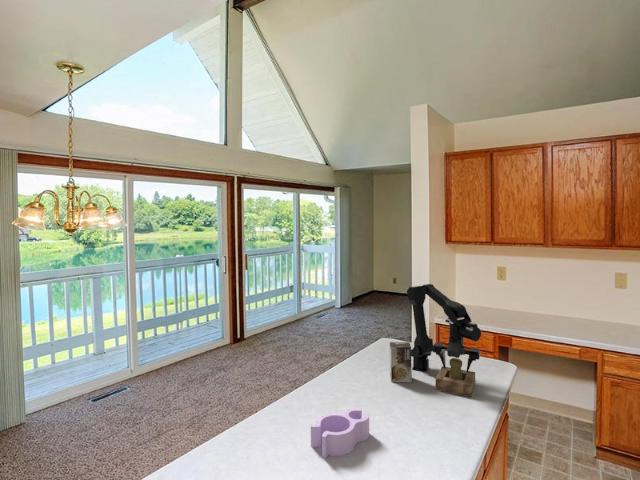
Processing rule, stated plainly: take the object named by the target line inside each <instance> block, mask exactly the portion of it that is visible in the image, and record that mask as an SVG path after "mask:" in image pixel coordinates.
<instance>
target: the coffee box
mask: <svg viewBox="0 0 640 480" xmlns="http://www.w3.org/2000/svg"><path fill="white" fill-rule="evenodd" d="M411 350H412V346H411V343H410V342H409V341H408V342H407V341H405V342H404V341H401V342H398V341H396V342H395V341H394V342H393V341H390V342H389V377H390V382H391V383H412V374H413V373H412V371H413V370H412V356H411Z"/></svg>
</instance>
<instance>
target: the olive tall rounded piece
mask: <svg viewBox="0 0 640 480" xmlns="http://www.w3.org/2000/svg"><path fill="white" fill-rule="evenodd" d="M448 362H449V368H450V375H449V378H453V379H458V380H462V372H461V370H462V367H463V361H462V360H461V359H460V358H456V357H452V358H450V360H449V361H448Z"/></svg>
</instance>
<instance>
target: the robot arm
mask: <svg viewBox="0 0 640 480" xmlns="http://www.w3.org/2000/svg"><path fill="white" fill-rule="evenodd" d="M406 294H407V300H408V301H409V302H410V304H411V306H412V311H413V318H414V327H415V334H416V335H415V338H414V341H413V348H411V358H412V357H413V358H412V361H413V362H412V365H413V366H412V367H411V370H413V371H419V372H420V371H421V372H424V373H425V372H427V371H428V369H429V368H430V358H429V356H432V353H435V355H437V356H438V357H439V358H440V361H441V363H442V366H443V367H444V368H446V367H447V366H446V364H447V363H446V360H447V359H446V354H447V356H448V357H452V358H458V359H460V357H461V356H466V355H467V356H468V358H467V366H466V371H467V373H468V371H470V368H471V366H472V364H473V361H474V362H476V361H477V360H480V358H481V349H480V348H476V347H470V349H466V346H465V345H464V339H465V340H466V339H467V340H469V341H472V342H478V341H479V340H480V339H481V336H482V331H481V329H480V328H479V327H478V324H477V323H472V319H471V317H470V315H469V313H468V311H467V310H466V309H467V308H466V307H465V306H464V304H461V303H460V302H458V301H455V300H454V301H453V300H452V299H450V298H449V297H448V296H447V295H446V294H444V293H442V292H441V291H440V290H439V289H437V288H436V287H435V285H434V284H432V283H427V284H422V285H416V286H410V287H408V289H407V291H406ZM426 295H427V296H428V297H429V298H430V299H432V300H433V302H435V303H436V304H437V305H439V306H440V307H441V308H442V309H443V313H444V315H446V316H447V317H448V318H447V319H445V320H444V322H446V323H448V325H449V327H448V328H449V329H448V331H449V333H448V337H449V339H448V343H447V346H445V343H441V342H434V343H433V338H430V337H429V335H428V331H427V325H426V317H425V315H426V314H425V309H424V303H425V300H426ZM446 352H447V353H446Z"/></svg>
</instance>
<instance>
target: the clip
mask: <svg viewBox="0 0 640 480" xmlns="http://www.w3.org/2000/svg"><path fill="white" fill-rule="evenodd" d="M362 414H363V413H362V409H361V408H349V409H348V410H346V411H344V412H341V413H336V412H334V413H333V412H332V413H327V414H326V413H325V414H323V415H322V416H320V417H318V419H317V420H316V423H314V424H313V423H312V424H310V447H311V448H320V447H322V448H321V452H322V453H321V455H322V456H321V457H322V458H323V459H326V458H327V457H328V456H331V457H340V456H346V455H347V454H349V453H351V452H352V451H353V450H354V448H355V445H356V444H357V443H360V442H363V441H366V440H367V439H368V438H369V437H370V413H365V414H364V417H363V415H362Z"/></svg>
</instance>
